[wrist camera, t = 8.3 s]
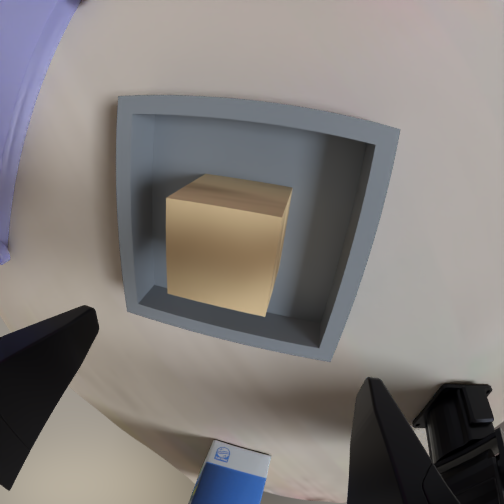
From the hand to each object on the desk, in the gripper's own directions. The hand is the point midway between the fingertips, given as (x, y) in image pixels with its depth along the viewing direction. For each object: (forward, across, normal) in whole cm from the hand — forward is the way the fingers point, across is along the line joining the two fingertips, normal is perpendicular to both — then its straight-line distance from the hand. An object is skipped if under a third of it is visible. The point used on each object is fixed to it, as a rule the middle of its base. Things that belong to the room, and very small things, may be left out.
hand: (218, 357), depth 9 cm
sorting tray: (+11, +2, 0) cm, 11 cm away
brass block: (+10, +2, 0) cm, 10 cm away
